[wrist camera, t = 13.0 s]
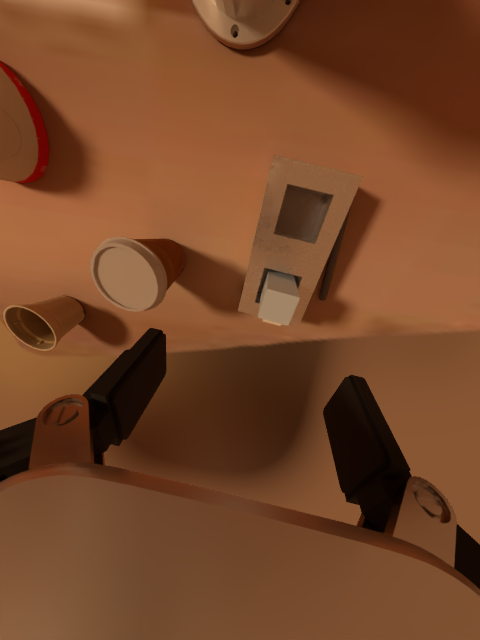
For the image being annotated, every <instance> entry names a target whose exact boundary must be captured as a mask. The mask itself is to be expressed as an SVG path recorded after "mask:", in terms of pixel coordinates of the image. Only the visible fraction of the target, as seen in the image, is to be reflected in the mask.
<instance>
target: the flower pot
mask: <svg viewBox="0 0 480 640" xmlns="http://www.w3.org/2000/svg"><path fill="white" fill-rule="evenodd" d="M84 317H85V314H84V312H83V307H82V306H81V305H80V303H79V302H77V301H76V300H75V299H73V298H72V297H67V296H59V297H55V298H52V299H48V300H44V301H40V302H36V303H32V304H23V305H12V306H9V307H7V308H6V309H5V310H4V321H5V323H6V325H7V327H8V329H9V330H10V331H11V332H12V334H14V335H15V337H16V338H18V339H19V340H20V341H22V342H23V343H25V344H26V345H28V346H30V347H32V348H34V349H37V350H42V351H48V350H51V349H53V348H54V347H55V346H56V345H57V342H59V341H60V339H61V338H62V337H63V336H64V335H65V334H66V333H67V332H69V331H70V330H71V329H72V328H73V327H75V326H76V325H77V324H78V323H80V322H81V321H82V320H83V319H84Z"/></svg>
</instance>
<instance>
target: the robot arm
mask: <svg viewBox="0 0 480 640" xmlns="http://www.w3.org/2000/svg"><path fill="white" fill-rule="evenodd" d="M192 2H193V4H194V7H195V9H196V11H197V13H198V16H199V18H200V19H201V21H202V22H203V24H204V25H205V27H206V28H207V30H208V31H209V32H210V33H211V34H212V35H213V36H214V37H215V38H216V39H217V40H218V41H220V42H221V43H223V44H224V45H226V46H228V47H232V48H235V49H252V48H255V47H259V46H261V45H262V44H264V43H266V42H268V41H269V40H271V39H272V38H273V37H274V36H275V35H276V34H277V33H278V32H280V31H281V30H282V28H283V27H284V26H285V24H286V23H287V22H288V20H289V19H290V18H291V16H292V15H293V13H294V11H295V9H296V8H297V6H298V4H299V2H300V0H192ZM287 2H290V5H286V3H287ZM235 34H237V35H238V36H237V37H236V38H234V35H235ZM165 374H166V335H165V334H163V331H162V330H158V329H154V328H150V329H148V330H147V332H146V333H145V334H144V335H143V336H142V337H141V338H140V339H139V340H138V341H137V342H136V343H135V345H134V346H133V347H132V348H131V349H130V350H125V351H124V352H123V353H122V354H121V355H120V356H119V357H118V358H117V359H116V360H115V361H114V363H113V364H112V365H111V366H110V367H109V368H108V369H107V370H106V371H105V372H104V373H103V374H102V375H101V376H100V377H99V379H98V380H97V381H96V382H95V383H94V384H93V385H92V386H91V387H90V388H89V389H88V390H87V391H86V392H85V393H84V394H83V395H82V396H81V395H78V394H71V395H66V396H62V397H59V398H57V399H55V400H53V401H52V402H50V403H48V404H47V405H46V406H45V407H44V408H43V409H42V410H41V411H40V413H39V414H38V416H37V418H34V419H31V420H28V421H26V422H23V423H20V424H17V425H14V426H11V427H8V428H6V429H3V430H0V640H480V545H479V544H478V543H477V542H476V541H475V540H474V539H473V538H472V537H471V536H470V535H469V534H467V533H466V532H465V531H464V530H463V529H462V528H461V527H460V526H459V525H457V521H456V515H455V513H454V510H453V508H452V506H451V505H450V503H449V502H448V500H447V499H446V498H445V496H444V495H443V494H442V493H441V492H440V491H439V490H438V489H437V488H436V487H435V486H434V485H433V484H431V483H430V482H428V481H427V480H425V479H423V478H421V477H416V476H413V477H412V476H411V474H410V472H409V471H410V468H409V466H408V464H407V462H406V460H405V458H404V456H403V454H402V452H401V450H400V448H399V446H398V444H397V442H396V440H395V438H394V436H393V434H392V432H391V430H390V428H389V426H388V424H387V422H386V420H385V418H384V416H383V415H382V412H381V410H380V408H379V406H378V404H377V402H376V400H375V399H374V396H373V394H372V393H371V390H370V388H369V386H368V384H367V382H366V380H365V379H364V378H362V377H358V376H354V375H350V376H349V377H345V378H344V380H343V381H342V383H341V384H340V386H339V387H338V389H337V390H336V392H335V393H334V395H333V396H332V397H331V399H330V400H329V402H328V403H327V405H326V406H325V408H324V410H323V415H324V419H325V424H326V428H327V433H328V437H329V441H330V445H331V450H332V454H333V458H334V463H335V466H336V471H337V475H338V480H339V484H340V488H341V490H342V492H343V493H345V497H346V501H347V502H350V503H353V504H358V505H360V508H361V512H362V513H361V516H360V518H359V521H358V523H357V526H354V525H350V524H347V523H343V522H339V521H335V520H331V519H327V518H323V517H319V516H315V515H311V514H307V513H303V512H299V511H296V510H292V509H288V508H284V507H279V506H275V505H271V504H267V503H263V502H259V501H255V500H251V499H247V498H243V497H239V496H235V495H231V494H227V493H223V492H219V491H215V490H211V489H206V488H203V487H198V486H194V485H190V484H186V483H182V482H178V481H174V480H169V479H165V478H161V477H157V476H153V475H148V474H144V473H139V472H135V471H130V470H126V469H121V468H117V467H111V466H106V465H105V457H104V452H105V451H107V449H108V447H109V445H110V444H113V445H117V446H119V445H120V444H121V442H122V440H123V439H127V438H128V437H129V435H130V434H131V432H132V430H133V429H134V427H135V425H136V424H137V422H138V420H139V419H140V417H141V415H142V414H143V412H144V410H145V408H146V407H147V405H148V404H149V402H150V400H151V398H152V397H153V395H154V393H155V392H156V390H157V388H158V387H159V385H160V383H161V382H162V380H163V378H164V377H165Z"/></svg>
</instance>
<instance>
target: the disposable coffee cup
mask: <svg viewBox="0 0 480 640" xmlns="http://www.w3.org/2000/svg"><path fill="white" fill-rule="evenodd" d="M184 267H185V255H184V253H183V250H182V249H181V247H180V246H179V245H178V244H177V243H175V242H174V241H172V240H169V239H130V238H126V237H113V238H109V239H107V240H105V241H103V242H102V243H101V244H100V245H99V247H98V248H97V249H96V250H95V251H94V253H93V255H92V257H91V260H90V272H91V276H92V279H93V281H94V283H95V285H96V287H97V289H98V290H99V291H100V293H101V294H102V295H103V296H104V297H105V298H106V299H107V300H108V301H109V302H111V303H112V304H114V305H115V306H117V307H119V308H121V309H124V310H127V311H134V312H137V311H146V310H150V309H152V308H155V307H156V306H158V305H159V304H160V303H161V302H162V300H163V299H164V297H165V294H166V291H167V290H168V288H169V287H170V286H171V284H172V283H173V282H174V281H175V280H176V278H177V277H178V276H179V274H180V273H181V272H182V271H183V269H184Z"/></svg>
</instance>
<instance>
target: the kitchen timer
mask: <svg viewBox="0 0 480 640" xmlns="http://www.w3.org/2000/svg"><path fill="white" fill-rule="evenodd" d="M48 159H49V144H48V137H47V131H46V129H45V126H44V123H43V120H42V117H41V114H40V112H39V110H38V108H37V106H36V104H35V102H34V101H33V99H32V97H31V95H30V93H29V92H28V90H27V89H26V88H25V87H24V85H23V84H22V83H21V81H20V80H19V79H18V77H17V76H16V75H15V74H14V73H13V72H12V71H11V70H10V69H9V68H8V67H6V66H5V65H4V64H3V63H2V62H1V61H0V180H6V181H11V182H19V183H29V182H33V181H36V180H38V179H39V178H40V177H41V176H42V175H43V174H44V172H45V170H46V168H47V165H48Z"/></svg>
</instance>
